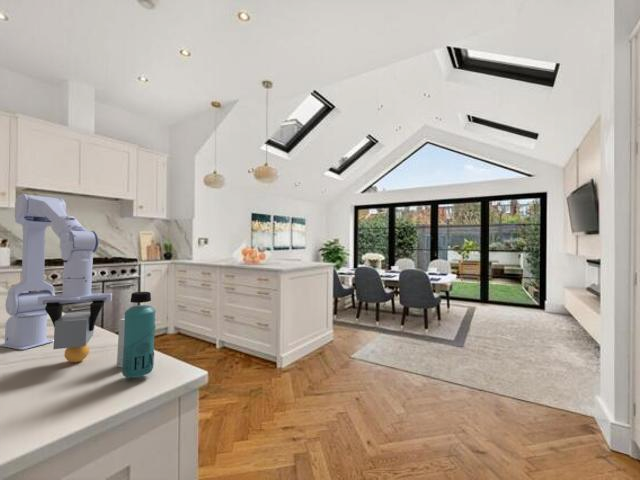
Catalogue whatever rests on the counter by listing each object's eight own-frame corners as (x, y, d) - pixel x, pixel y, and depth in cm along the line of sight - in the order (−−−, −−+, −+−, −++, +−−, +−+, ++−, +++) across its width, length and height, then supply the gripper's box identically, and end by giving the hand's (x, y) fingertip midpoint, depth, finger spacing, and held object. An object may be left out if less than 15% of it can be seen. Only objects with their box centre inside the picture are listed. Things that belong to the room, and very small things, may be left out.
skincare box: (130, 369, 74) (132, 320, 75) (116, 367, 75) (118, 319, 75) (149, 360, 80) (151, 315, 81) (135, 358, 81) (137, 314, 81)
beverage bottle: (129, 387, 65) (134, 295, 66) (115, 379, 69) (119, 292, 69) (159, 376, 71) (163, 292, 71) (144, 369, 74) (147, 289, 75)
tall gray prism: (65, 337, 79) (66, 312, 79) (93, 334, 82) (94, 311, 82) (53, 349, 70) (54, 321, 70) (85, 346, 73) (86, 319, 73)
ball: (60, 343, 77) (58, 364, 75) (76, 340, 76) (74, 361, 74) (79, 342, 81) (77, 362, 80) (94, 340, 81) (93, 359, 79)
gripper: (34, 280, 69) (31, 339, 69) (110, 278, 76) (107, 332, 76) (44, 277, 75) (41, 331, 75) (113, 275, 82) (111, 325, 82)
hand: (75, 331), depth 76 cm, fingers closed on tall gray prism, 6 cm apart
